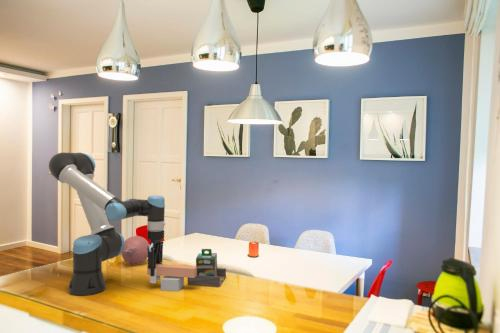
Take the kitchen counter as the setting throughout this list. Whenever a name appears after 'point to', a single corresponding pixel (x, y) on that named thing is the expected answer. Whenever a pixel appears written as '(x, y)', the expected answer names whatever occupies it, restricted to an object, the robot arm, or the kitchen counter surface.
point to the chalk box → (206, 263)
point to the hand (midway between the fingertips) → (155, 281)
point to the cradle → (209, 279)
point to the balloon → (135, 250)
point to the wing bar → (175, 270)
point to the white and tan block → (172, 283)
